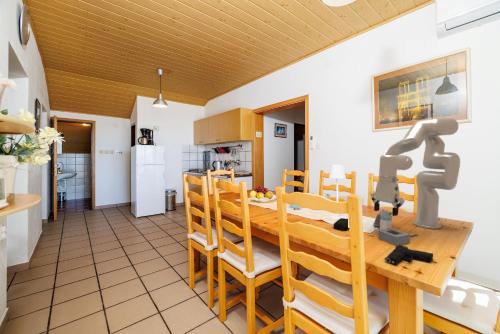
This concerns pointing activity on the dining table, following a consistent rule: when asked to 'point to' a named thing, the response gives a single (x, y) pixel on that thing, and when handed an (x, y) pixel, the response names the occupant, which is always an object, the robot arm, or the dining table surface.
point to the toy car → (341, 224)
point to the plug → (385, 222)
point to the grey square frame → (377, 231)
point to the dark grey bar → (413, 235)
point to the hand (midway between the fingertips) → (385, 213)
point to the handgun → (407, 255)
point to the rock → (377, 220)
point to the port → (394, 236)
